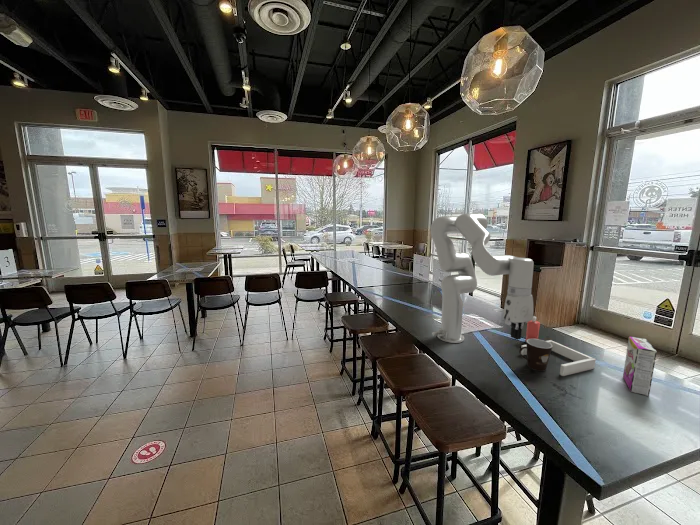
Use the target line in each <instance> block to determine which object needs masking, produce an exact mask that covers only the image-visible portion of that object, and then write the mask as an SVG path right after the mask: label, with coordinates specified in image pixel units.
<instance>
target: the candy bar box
mask: <svg viewBox="0 0 700 525" xmlns="http://www.w3.org/2000/svg"><path fill="white" fill-rule="evenodd" d="M625 354H626V355H625V361H624V367H623V373H622V378H623V380H624V381H625V384H626V385H627V387H628V390H629V391H630V393H634V394H637V395H642V396H646V397H650V392H651V387H652V380H653V377H654V369H655V364H656V357H657V350H656V349H655V347H654V346H652V344H651V343H650V342H649V340H647V339H646V338H641V337H635V336H628V342H627V348H626V353H625Z"/></svg>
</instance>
